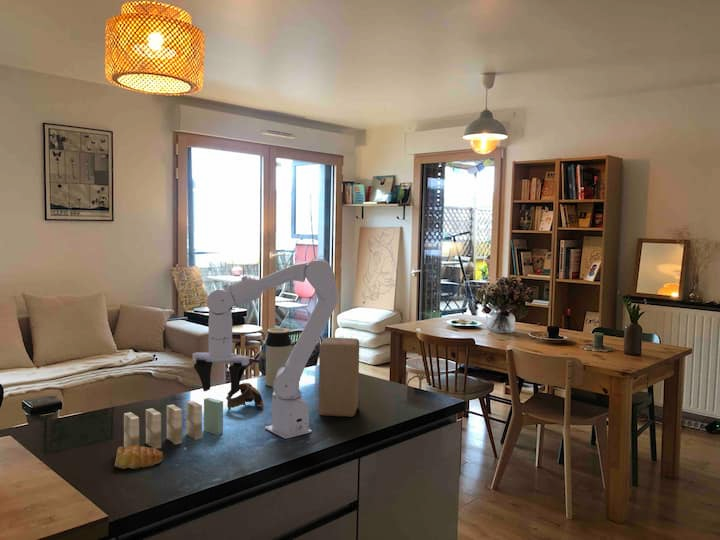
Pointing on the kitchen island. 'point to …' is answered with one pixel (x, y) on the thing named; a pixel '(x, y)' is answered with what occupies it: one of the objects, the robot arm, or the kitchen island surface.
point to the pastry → (137, 457)
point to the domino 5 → (213, 416)
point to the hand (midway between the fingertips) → (220, 391)
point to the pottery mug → (245, 396)
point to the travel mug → (276, 352)
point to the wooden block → (338, 376)
